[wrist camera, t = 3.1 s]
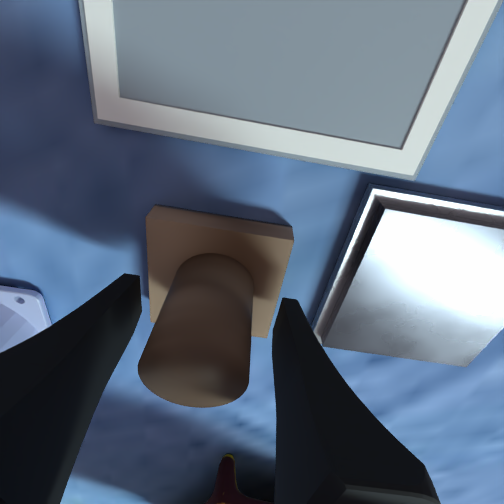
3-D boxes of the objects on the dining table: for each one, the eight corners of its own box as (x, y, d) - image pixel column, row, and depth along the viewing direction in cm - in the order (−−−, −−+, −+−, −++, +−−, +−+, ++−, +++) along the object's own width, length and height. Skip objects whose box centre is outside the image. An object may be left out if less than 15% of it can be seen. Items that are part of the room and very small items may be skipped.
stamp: (159, 302, 16) (110, 413, 11) (156, 202, 13) (85, 295, 8) (266, 318, 16) (267, 432, 11) (291, 224, 13) (308, 327, 8)
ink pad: (307, 333, 16) (310, 351, 15) (368, 182, 12) (378, 194, 11) (457, 355, 17) (469, 373, 16) (576, 220, 12) (604, 234, 11)
